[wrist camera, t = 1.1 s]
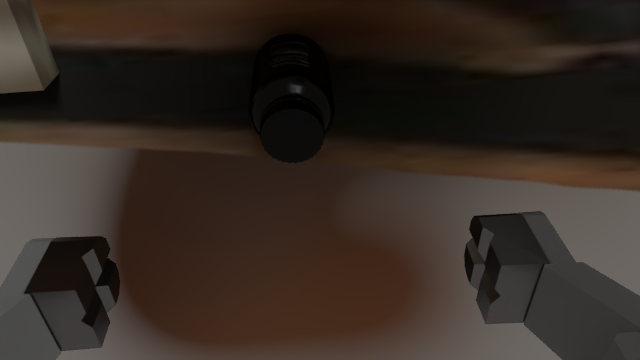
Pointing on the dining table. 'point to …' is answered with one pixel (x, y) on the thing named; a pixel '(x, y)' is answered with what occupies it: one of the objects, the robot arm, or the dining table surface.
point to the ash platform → (23, 49)
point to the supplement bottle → (291, 97)
